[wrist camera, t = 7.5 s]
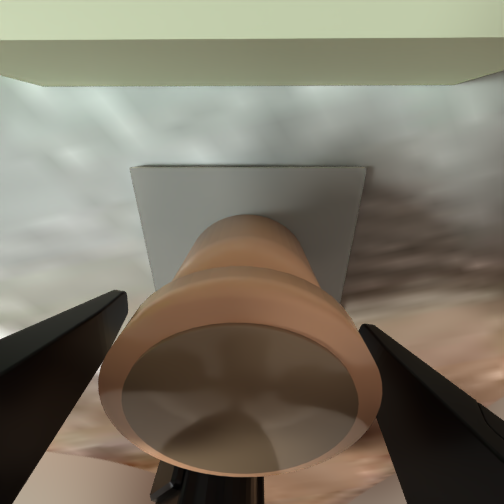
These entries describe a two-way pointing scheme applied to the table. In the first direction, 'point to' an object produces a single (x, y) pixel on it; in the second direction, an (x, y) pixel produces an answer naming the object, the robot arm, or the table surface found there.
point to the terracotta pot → (241, 361)
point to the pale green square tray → (250, 42)
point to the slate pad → (250, 211)
